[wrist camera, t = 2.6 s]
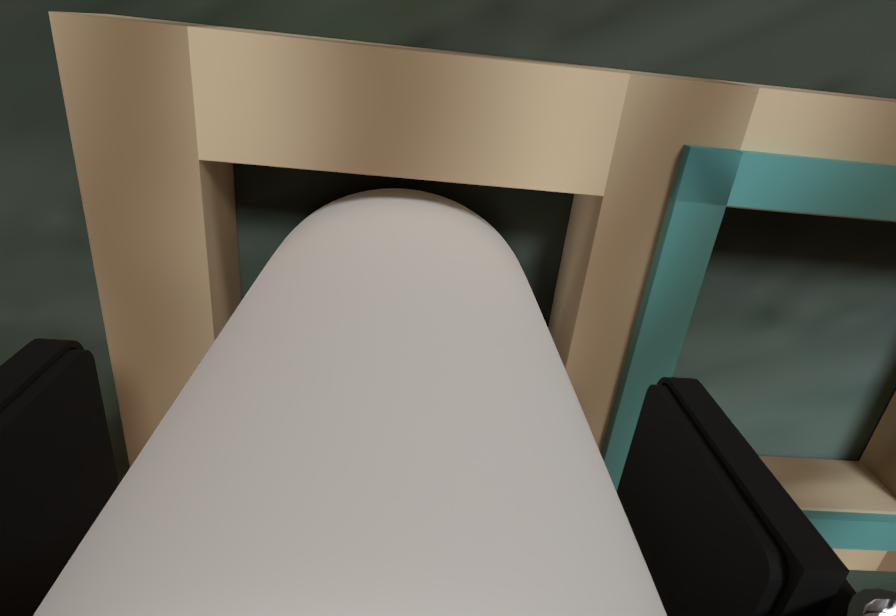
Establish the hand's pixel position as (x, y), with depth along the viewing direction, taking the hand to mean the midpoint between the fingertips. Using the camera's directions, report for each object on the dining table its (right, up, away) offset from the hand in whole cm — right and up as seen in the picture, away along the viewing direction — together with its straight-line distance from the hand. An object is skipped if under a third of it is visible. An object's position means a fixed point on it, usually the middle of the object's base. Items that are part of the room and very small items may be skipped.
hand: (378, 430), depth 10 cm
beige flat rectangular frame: (+5, +2, +5) cm, 7 cm away
